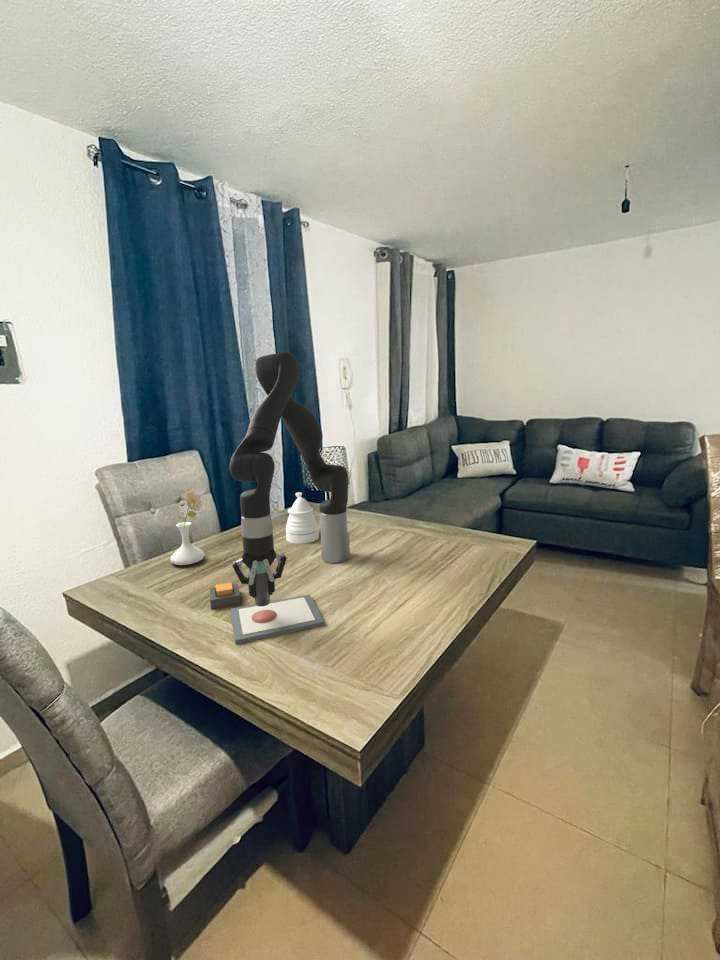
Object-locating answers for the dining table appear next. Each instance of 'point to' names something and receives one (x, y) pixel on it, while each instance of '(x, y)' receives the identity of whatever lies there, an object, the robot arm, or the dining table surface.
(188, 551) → the flower in vase
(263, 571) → the marker
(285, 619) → the drawing board
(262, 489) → the robot arm
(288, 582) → the dining table surface
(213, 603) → the button housing
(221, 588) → the button
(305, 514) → the honey pot
